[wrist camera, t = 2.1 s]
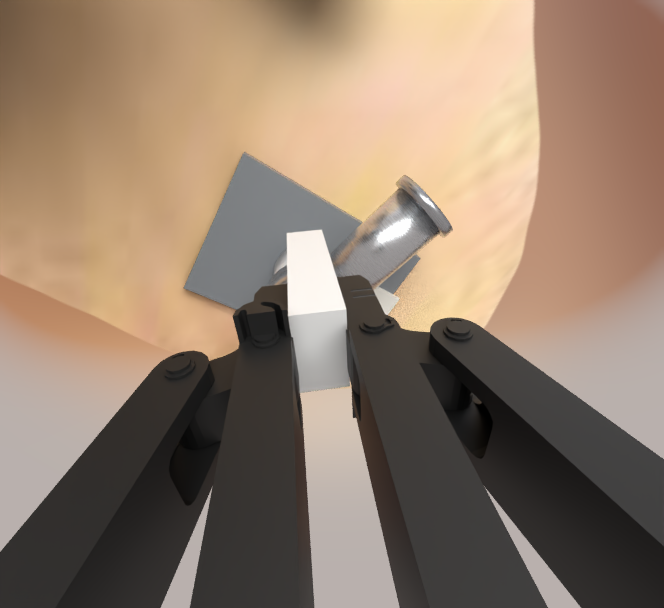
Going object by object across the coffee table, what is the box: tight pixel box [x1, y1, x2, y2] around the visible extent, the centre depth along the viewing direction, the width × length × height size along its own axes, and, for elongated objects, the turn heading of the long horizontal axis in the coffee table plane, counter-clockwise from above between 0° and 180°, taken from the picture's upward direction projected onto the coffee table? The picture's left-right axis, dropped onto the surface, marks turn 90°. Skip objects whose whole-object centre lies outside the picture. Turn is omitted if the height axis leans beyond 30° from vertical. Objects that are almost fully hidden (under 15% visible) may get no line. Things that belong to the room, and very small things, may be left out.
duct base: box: [184, 152, 420, 315], centre depth 36 cm, size 23×16×7 cm
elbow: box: [267, 175, 453, 290], centre depth 29 cm, size 18×8×6 cm, turn 134°
